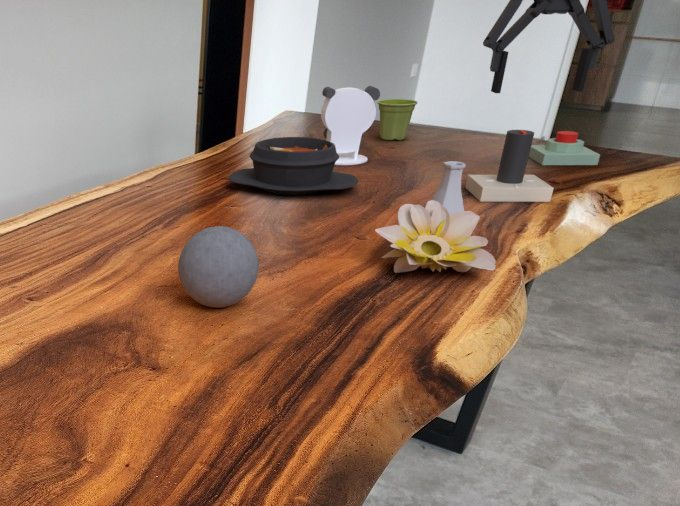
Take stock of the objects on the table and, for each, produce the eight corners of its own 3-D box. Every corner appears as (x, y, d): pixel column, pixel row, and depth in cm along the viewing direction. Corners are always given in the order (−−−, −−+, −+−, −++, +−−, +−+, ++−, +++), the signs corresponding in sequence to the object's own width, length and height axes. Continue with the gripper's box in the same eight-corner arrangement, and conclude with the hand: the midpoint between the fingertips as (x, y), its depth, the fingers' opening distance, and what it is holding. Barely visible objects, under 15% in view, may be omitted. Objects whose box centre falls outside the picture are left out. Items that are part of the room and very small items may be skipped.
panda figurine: (361, 153, 167) (370, 83, 159) (377, 164, 157) (387, 89, 149) (310, 155, 166) (316, 84, 159) (322, 165, 157) (330, 91, 149)
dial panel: (530, 187, 137) (534, 173, 135) (550, 202, 128) (554, 186, 127) (465, 187, 138) (467, 173, 137) (480, 201, 129) (483, 186, 128)
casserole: (361, 181, 145) (366, 137, 140) (351, 205, 130) (358, 157, 125) (239, 174, 152) (241, 132, 148) (217, 196, 137) (218, 150, 133)
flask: (451, 218, 121) (463, 157, 116) (475, 230, 115) (489, 166, 110) (411, 221, 120) (421, 159, 115) (433, 234, 114) (445, 169, 109)
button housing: (578, 155, 159) (583, 136, 157) (597, 165, 151) (603, 145, 148) (525, 155, 160) (530, 136, 158) (542, 165, 152) (547, 145, 150)
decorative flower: (382, 277, 94) (395, 197, 91) (361, 267, 105) (372, 196, 102) (498, 284, 93) (515, 205, 90) (465, 274, 104) (479, 203, 101)
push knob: (571, 140, 155) (574, 130, 154) (578, 144, 152) (581, 134, 151) (551, 141, 156) (554, 131, 154) (558, 144, 152) (561, 134, 151)
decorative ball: (182, 322, 88) (182, 242, 83) (174, 291, 96) (174, 217, 91) (263, 318, 88) (268, 238, 83) (248, 288, 97) (252, 214, 91)
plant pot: (365, 139, 181) (370, 102, 176) (385, 133, 186) (390, 97, 182) (399, 143, 175) (404, 105, 170) (418, 137, 180) (424, 100, 176)
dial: (493, 177, 134) (504, 128, 129) (518, 177, 133) (529, 127, 129) (500, 183, 130) (512, 132, 126) (526, 183, 130) (538, 132, 125)
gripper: (494, -50, 113) (467, 96, 124) (664, -57, 110) (622, 92, 121) (480, -48, 119) (456, 90, 130) (640, -55, 117) (602, 86, 127)
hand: (536, 91), depth 126 cm, fingers open, 13 cm apart
